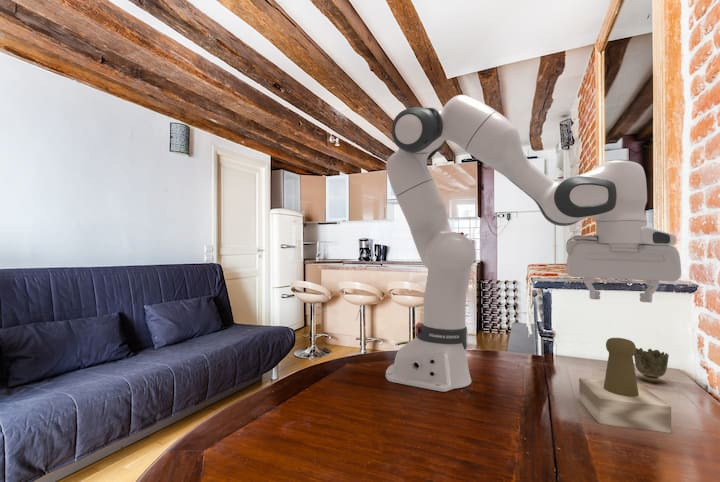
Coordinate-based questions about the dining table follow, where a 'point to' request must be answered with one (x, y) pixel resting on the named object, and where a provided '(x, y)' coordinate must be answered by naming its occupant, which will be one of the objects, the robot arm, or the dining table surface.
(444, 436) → the dining table surface
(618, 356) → the cork
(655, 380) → the cup
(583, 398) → the plinth
